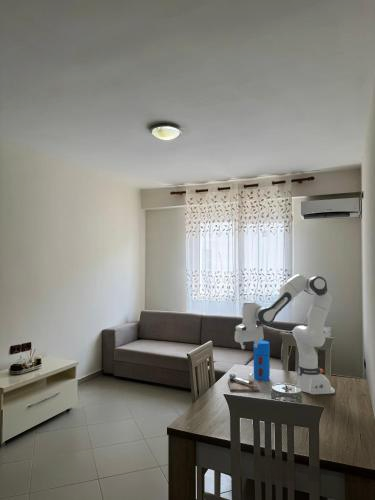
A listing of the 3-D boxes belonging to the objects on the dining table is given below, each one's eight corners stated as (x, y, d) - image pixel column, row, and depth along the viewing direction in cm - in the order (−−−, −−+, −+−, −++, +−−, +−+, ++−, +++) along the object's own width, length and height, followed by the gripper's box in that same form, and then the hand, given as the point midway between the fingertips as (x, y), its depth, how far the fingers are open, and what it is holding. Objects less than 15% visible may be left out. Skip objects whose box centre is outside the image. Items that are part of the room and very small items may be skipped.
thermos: (252, 380, 236) (252, 343, 237) (254, 375, 247) (254, 339, 248) (269, 382, 233) (269, 344, 234) (270, 377, 243) (270, 341, 244)
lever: (228, 379, 231) (228, 368, 232) (232, 378, 234) (232, 367, 234) (251, 386, 218) (251, 375, 218) (254, 385, 221) (254, 374, 221)
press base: (254, 381, 233) (254, 378, 234) (259, 392, 214) (259, 388, 215) (227, 381, 234) (227, 378, 234) (230, 391, 215) (230, 388, 215)
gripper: (259, 324, 233) (260, 345, 232) (233, 326, 225) (233, 348, 225) (265, 326, 227) (265, 347, 227) (238, 328, 219) (238, 350, 219)
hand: (249, 348), depth 226 cm, fingers open, 8 cm apart
